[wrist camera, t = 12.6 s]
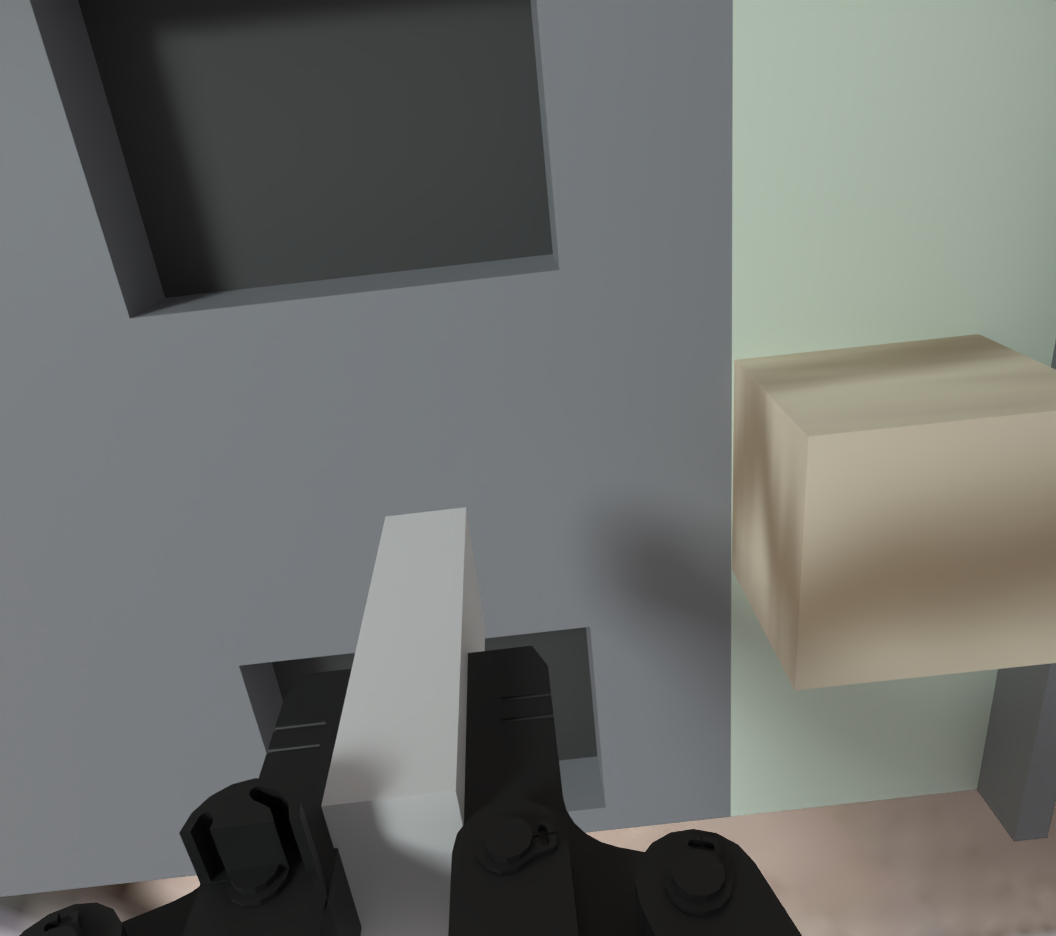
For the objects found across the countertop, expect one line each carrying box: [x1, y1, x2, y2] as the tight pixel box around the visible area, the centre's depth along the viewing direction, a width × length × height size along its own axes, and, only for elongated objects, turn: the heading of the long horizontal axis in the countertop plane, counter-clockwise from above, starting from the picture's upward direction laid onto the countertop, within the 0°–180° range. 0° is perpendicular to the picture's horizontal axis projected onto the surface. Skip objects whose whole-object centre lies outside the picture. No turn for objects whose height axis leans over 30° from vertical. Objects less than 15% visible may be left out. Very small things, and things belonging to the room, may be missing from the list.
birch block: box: [732, 334, 1056, 690], centre depth 18 cm, size 6×6×5 cm
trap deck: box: [0, 0, 1056, 897], centre depth 21 cm, size 26×36×4 cm
